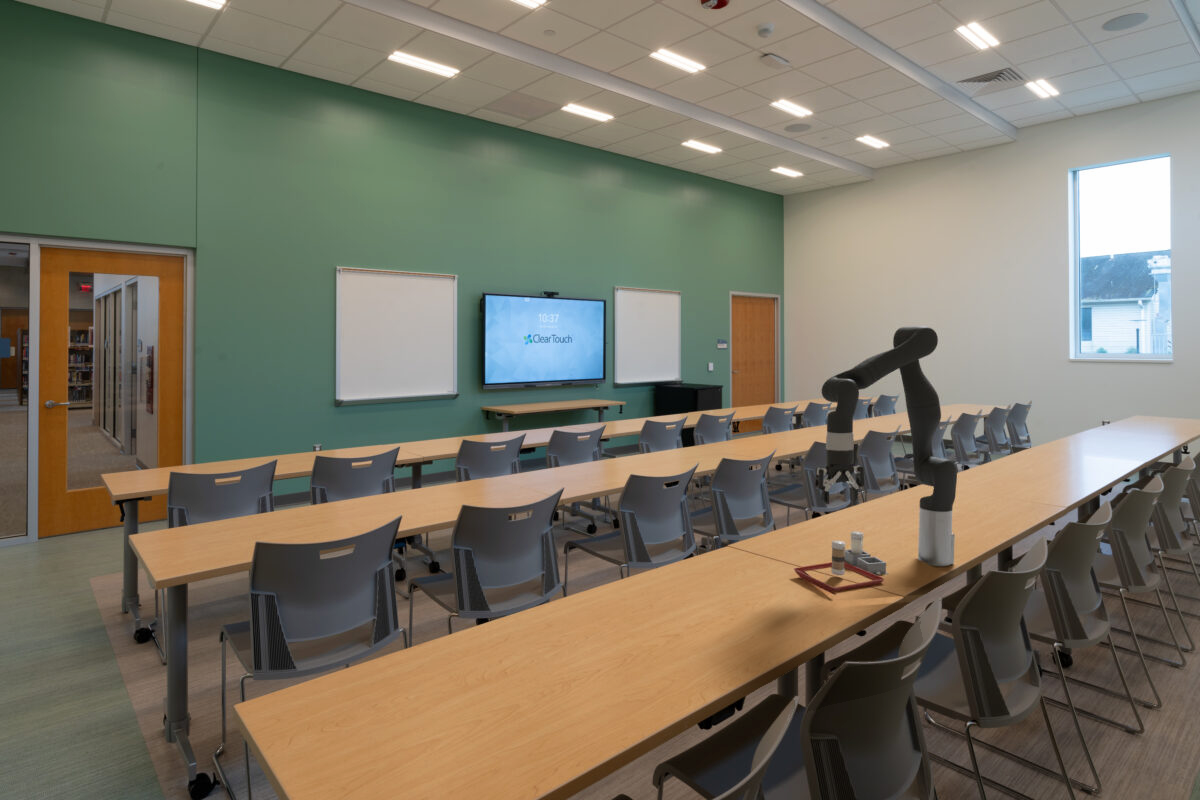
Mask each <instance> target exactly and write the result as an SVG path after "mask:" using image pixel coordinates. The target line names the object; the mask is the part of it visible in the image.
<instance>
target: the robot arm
mask: <svg viewBox="0 0 1200 800" xmlns="http://www.w3.org/2000/svg"><path fill="white" fill-rule="evenodd" d="M892 340H893V341H892V345H893V348H890V349H889V350H886V351H883V352H880V353H877V354H875V355H873V356H870V357H867V358H866V359H864V360H863V361H861V362H859V364H856V365H855V366H854V367H853V368H851V369H848V370H844V371H843V372H839V373H838V374H836V375H835V374H834V375H833V376H831V377H829V378H828V379H827V380H825V382H824V383H823V385H822V387H821V395H822V397H823V399H825V400H826V401H827V402H830V403H836V407H835V410H833V411H829V412H828V414H827V416H826V417H827V418H826V438H825V463H826V467H825V468H821V467H815V468H816V469H815V473H814V474H815V477H814V478H815V479H814V488H816V489H818V490H820V491H821V501H822V503H823V504H825V505H829V504H830V491H829V490H830V488H831V487H832V486H834V485H835V483H836V484H837V483H838V484H839V483H847V484H848V485H849V487H850V488H849V501H850V502H853V503H856V502H857V501H858V497H859V496H858V495H859V492H858V491H859V490H858V489H860V488H864V486H865V474H864V473H865V469H864V466H861V465H858V464H857V465H856V464H855V465H854V462H855V461H854V460H855V459H854V456H855V454H854V450H855V447H854V445H855V443H854V441H855V440H854V431H853V429H854V428H853V427H854V421H853V420H854V419H853V418H854V415H855V413H856V409H857V405H858V401H859V397H860V391H859V390H866V389H868V388H869V387H870V386H873V385H874V384H876V383H877V382H878V381H879V380H881V379H882V378H885V377H886V376H888V375H889V374H892V373H893V372H894V371H897V370H899V372H900V376H901V381H902V387H903V391H904V397H905V406H906V411H907V416H908V417H907V418H908V422H909V428H910V435H911V443H912V444H911V445H912V459H913V461H912V462H913V464H912V465H913V471H914V476H915V479H916V481H917V482H918V483H920V484H922V485H925V486H928V487H929V486H930V487H933V490H932V494H930V495H927V496H923V497H921V498H920V499H919V507H918V508H919V510H918V511H919V512H918V518H919V520H918V546H917V549H918V551H917V552H918V554H917V555H918V556H917V559H918V561H920V562H923V563H925V564H927V565H929V566H933V567H947V566H950V565H953V564H955V542H956V541H955V537H956V535H955V533H953V507H954V503H955V500H956V493H957V492H956V491H957V484H958V483H957V480H958V471H957V470H958V469H957V466H956V464H955V463H954V461H953V460H951V459H947V458H943V457H935V455H934V452H933V445H932V443H933V437H934V435H935V433H936V430H937V429H938V427H939V425H940V423H941V419H942V412H941V410H942V409H941V404H940V398H939V395H938V393H937V390H936V389H935V387H934V386H933V385H932V384H931V382H930V380H929V379H928V377H926V375H925V374H924V372H923V370H922V366H921V364H920V359H923V358H925V357H928V356H930V355H932V353H934V351H935V350H936V348H937V347H938V343H939V339H938V335H937V332H936V330H934V329H933V328H932V327H930V326H922V325H915V326H913V325H911V326H901V327H899V328H898V329H897V330H896V331H895V333H894V334H893V339H892ZM853 465H854V466H853ZM853 474H854V475H855V478H854V477H853V476H852V475H853ZM826 475H827V476H826ZM825 476H826V477H825ZM824 477H825V478H824Z"/></svg>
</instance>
